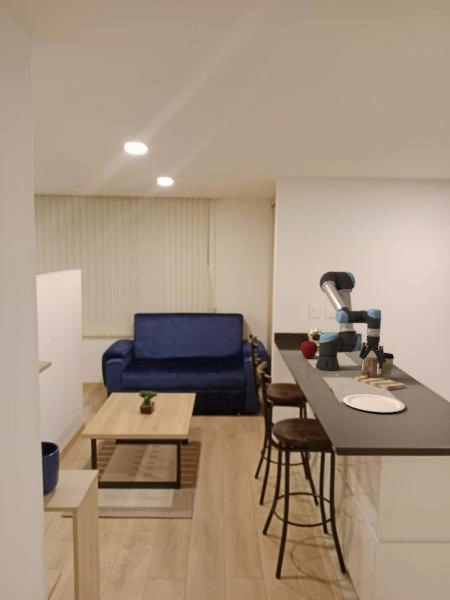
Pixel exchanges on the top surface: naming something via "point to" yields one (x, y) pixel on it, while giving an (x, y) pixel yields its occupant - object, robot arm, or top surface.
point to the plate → (374, 403)
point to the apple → (308, 349)
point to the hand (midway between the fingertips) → (371, 371)
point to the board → (379, 382)
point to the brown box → (370, 367)
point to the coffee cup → (387, 366)
